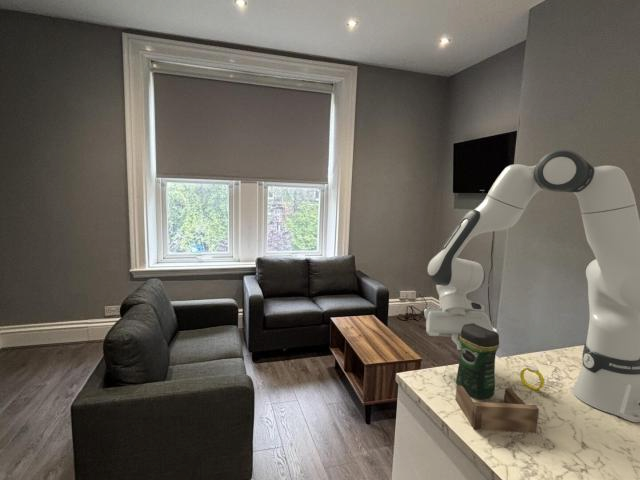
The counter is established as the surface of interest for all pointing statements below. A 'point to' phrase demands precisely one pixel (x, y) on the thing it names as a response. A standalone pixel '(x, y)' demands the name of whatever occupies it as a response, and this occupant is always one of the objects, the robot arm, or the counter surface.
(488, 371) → the coffee jar
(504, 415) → the wooden frame
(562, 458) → the counter surface
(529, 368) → the watch
